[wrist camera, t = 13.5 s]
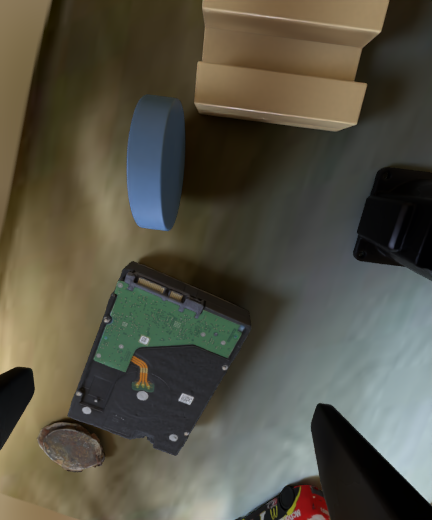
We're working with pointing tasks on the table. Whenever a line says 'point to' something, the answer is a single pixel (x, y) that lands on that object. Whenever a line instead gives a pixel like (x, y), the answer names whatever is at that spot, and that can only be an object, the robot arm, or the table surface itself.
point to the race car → (294, 505)
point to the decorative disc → (71, 446)
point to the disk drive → (157, 358)
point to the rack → (286, 60)
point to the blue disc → (156, 161)
